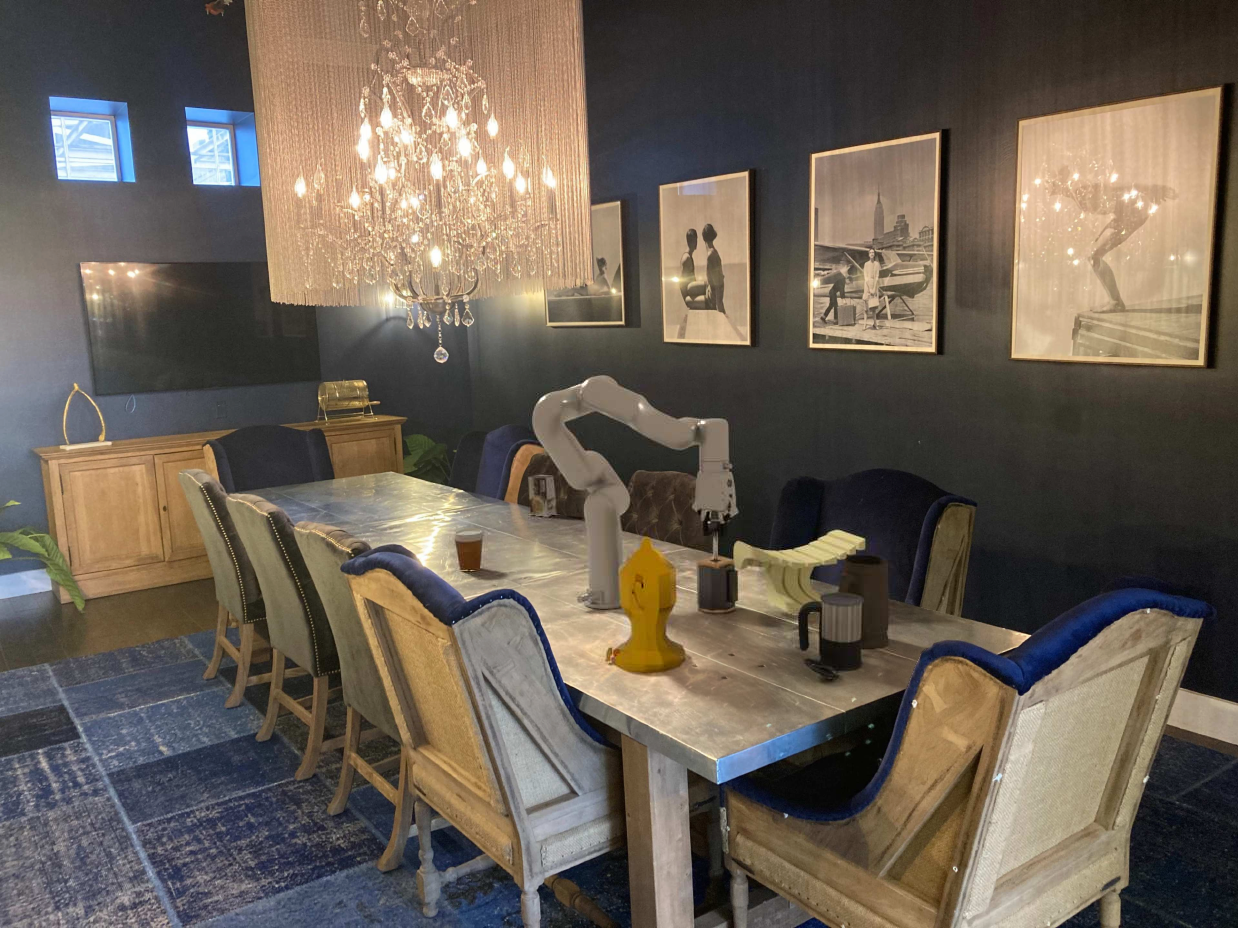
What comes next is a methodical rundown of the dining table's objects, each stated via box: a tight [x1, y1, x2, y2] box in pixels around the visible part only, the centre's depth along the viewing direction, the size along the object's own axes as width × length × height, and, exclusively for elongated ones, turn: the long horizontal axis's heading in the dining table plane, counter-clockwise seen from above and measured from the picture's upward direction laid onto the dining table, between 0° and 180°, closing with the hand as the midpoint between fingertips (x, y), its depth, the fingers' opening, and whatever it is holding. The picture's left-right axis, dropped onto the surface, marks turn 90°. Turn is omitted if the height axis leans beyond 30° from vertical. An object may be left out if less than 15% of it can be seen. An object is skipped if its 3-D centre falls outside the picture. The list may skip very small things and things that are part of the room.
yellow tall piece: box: [604, 536, 687, 674], centre depth 213 cm, size 18×24×28 cm
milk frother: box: [797, 592, 864, 680], centre depth 205 cm, size 14×16×15 cm
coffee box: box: [527, 474, 558, 518], centre depth 385 cm, size 9×6×16 cm
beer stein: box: [837, 554, 890, 649], centre depth 220 cm, size 15×11×20 cm
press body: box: [696, 555, 739, 615], centre depth 251 cm, size 10×11×13 cm
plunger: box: [707, 518, 720, 562], centre depth 250 cm, size 6×6×15 cm
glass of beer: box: [452, 528, 485, 571], centre depth 300 cm, size 10×10×12 cm
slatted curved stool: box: [733, 529, 866, 616], centre depth 253 cm, size 30×16×18 cm, turn 110°
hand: (715, 535), depth 249 cm, fingers closed on plunger, 4 cm apart
